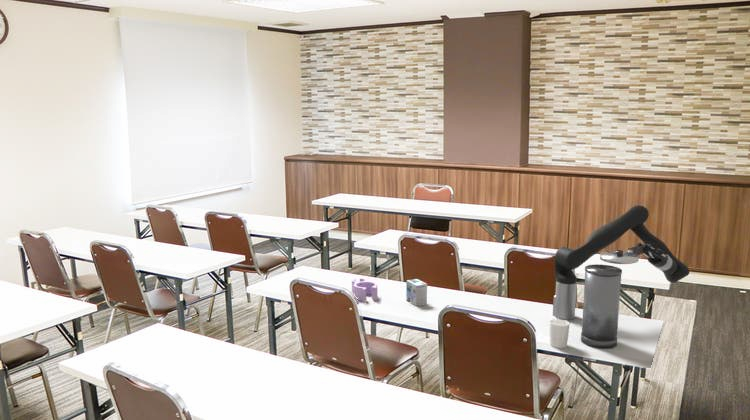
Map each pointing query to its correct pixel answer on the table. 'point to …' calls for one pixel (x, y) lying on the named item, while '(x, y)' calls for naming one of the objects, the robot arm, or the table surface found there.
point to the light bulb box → (416, 292)
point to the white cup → (559, 333)
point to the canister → (601, 306)
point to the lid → (623, 255)
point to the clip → (364, 289)
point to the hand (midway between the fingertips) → (641, 245)
